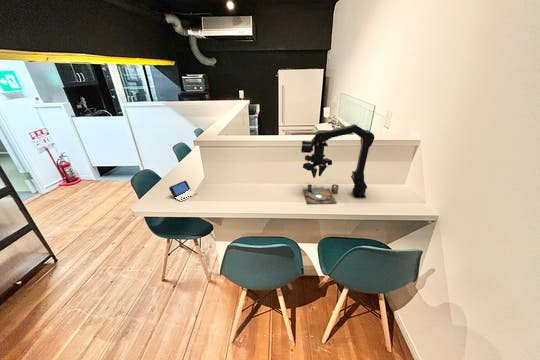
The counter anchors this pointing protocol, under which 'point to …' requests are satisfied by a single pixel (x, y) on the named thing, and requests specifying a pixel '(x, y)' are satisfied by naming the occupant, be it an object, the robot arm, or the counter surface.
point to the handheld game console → (179, 189)
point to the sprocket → (318, 193)
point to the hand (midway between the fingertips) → (316, 177)
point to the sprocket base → (311, 201)
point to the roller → (334, 189)
